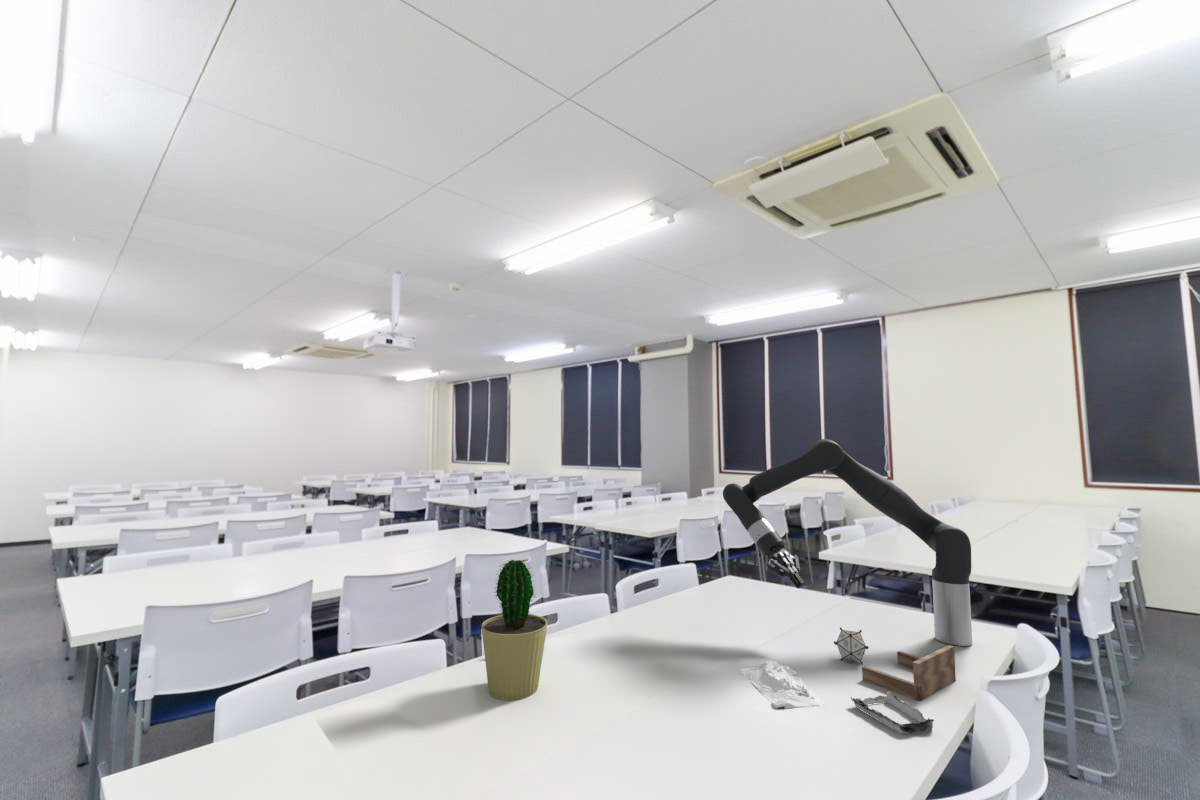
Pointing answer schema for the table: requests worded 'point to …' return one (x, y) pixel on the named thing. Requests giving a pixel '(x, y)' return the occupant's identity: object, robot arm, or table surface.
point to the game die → (851, 645)
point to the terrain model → (781, 686)
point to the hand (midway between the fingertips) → (801, 586)
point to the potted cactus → (514, 637)
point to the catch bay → (918, 674)
